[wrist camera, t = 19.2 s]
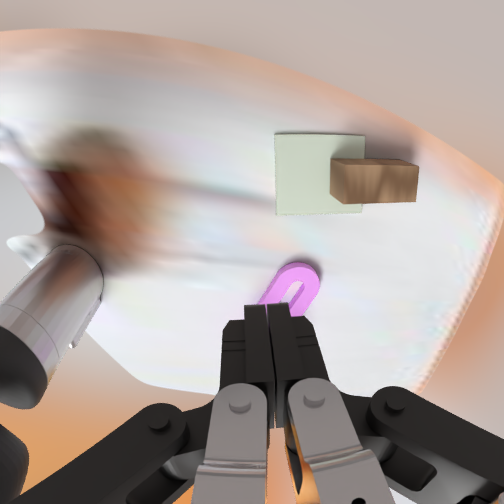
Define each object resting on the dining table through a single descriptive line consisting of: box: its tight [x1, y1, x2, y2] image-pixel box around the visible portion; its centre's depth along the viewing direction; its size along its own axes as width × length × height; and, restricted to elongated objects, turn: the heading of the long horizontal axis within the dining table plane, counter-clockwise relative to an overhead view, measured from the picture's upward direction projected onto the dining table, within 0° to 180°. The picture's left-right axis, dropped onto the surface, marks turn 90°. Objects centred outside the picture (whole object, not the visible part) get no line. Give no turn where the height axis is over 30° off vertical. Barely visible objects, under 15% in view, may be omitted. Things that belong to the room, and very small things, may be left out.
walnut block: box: [330, 158, 419, 205], centre depth 32 cm, size 4×4×9 cm
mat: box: [275, 134, 365, 216], centre depth 34 cm, size 9×10×1 cm
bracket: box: [258, 262, 320, 317], centre depth 38 cm, size 13×6×7 cm, turn 152°
